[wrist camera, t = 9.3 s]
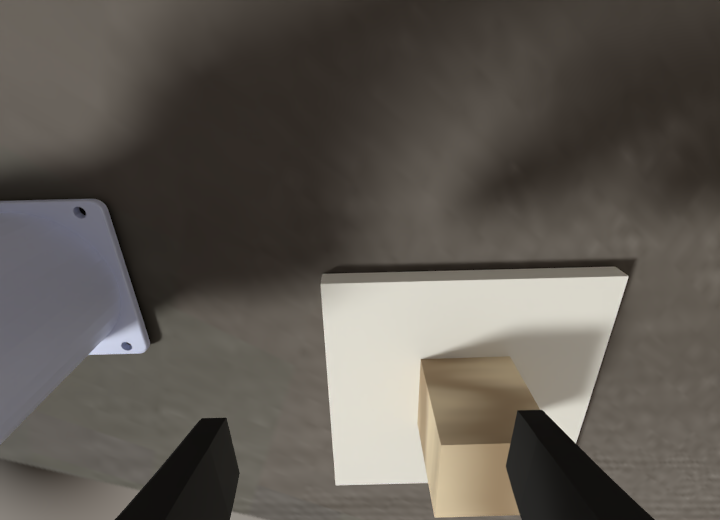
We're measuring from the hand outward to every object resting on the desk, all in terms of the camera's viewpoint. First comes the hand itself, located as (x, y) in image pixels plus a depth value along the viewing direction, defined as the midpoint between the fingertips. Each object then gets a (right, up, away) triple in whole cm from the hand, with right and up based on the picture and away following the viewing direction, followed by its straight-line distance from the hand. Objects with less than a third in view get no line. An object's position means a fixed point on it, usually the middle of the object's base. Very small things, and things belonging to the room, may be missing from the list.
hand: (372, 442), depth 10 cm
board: (+5, -2, +11) cm, 13 cm away
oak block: (+5, -2, +10) cm, 12 cm away
